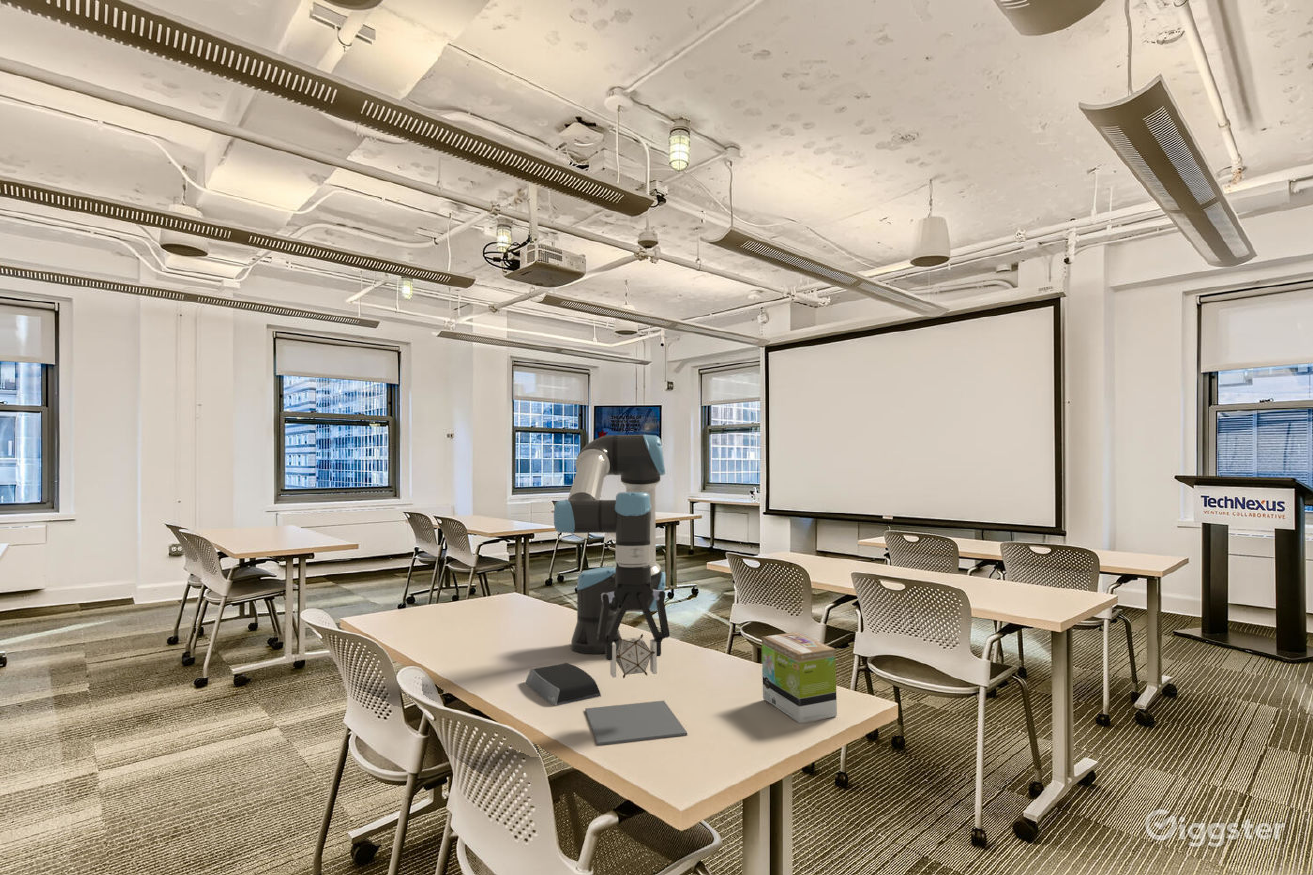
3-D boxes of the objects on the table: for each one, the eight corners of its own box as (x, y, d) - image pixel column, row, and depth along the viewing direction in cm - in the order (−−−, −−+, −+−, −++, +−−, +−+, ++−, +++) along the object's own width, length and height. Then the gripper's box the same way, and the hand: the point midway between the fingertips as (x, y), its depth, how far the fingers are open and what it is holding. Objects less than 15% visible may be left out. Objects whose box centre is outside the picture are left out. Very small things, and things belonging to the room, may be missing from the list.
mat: (585, 710, 136) (585, 708, 136) (663, 702, 140) (663, 700, 140) (597, 745, 118) (597, 742, 118) (687, 735, 123) (687, 732, 123)
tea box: (761, 700, 141) (760, 635, 142) (797, 694, 145) (796, 630, 146) (799, 724, 127) (798, 652, 128) (838, 717, 131) (837, 647, 132)
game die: (639, 695, 128) (646, 664, 123) (603, 678, 130) (608, 647, 125) (656, 663, 135) (662, 633, 130) (621, 647, 137) (626, 617, 132)
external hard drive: (551, 709, 138) (552, 690, 138) (522, 684, 154) (523, 667, 155) (604, 698, 145) (604, 680, 145) (571, 675, 161) (571, 659, 162)
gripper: (586, 568, 125) (586, 683, 123) (684, 564, 130) (685, 674, 128) (582, 564, 132) (581, 672, 131) (675, 560, 137) (675, 664, 136)
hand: (633, 673), depth 129 cm, fingers closed on game die, 8 cm apart
